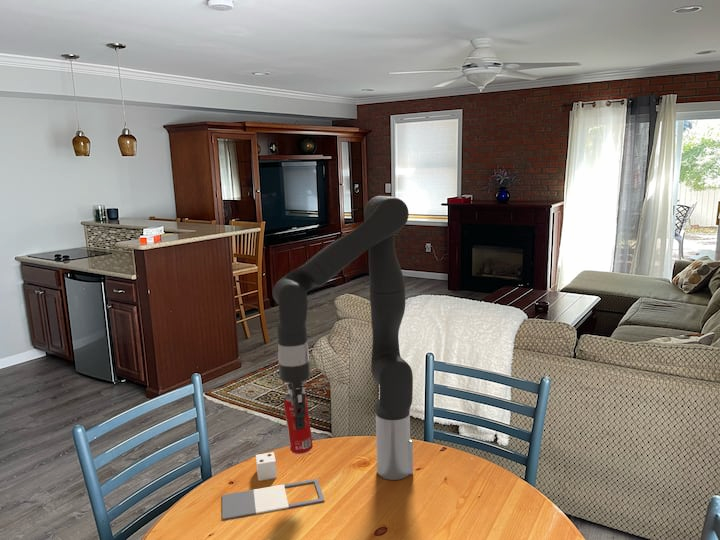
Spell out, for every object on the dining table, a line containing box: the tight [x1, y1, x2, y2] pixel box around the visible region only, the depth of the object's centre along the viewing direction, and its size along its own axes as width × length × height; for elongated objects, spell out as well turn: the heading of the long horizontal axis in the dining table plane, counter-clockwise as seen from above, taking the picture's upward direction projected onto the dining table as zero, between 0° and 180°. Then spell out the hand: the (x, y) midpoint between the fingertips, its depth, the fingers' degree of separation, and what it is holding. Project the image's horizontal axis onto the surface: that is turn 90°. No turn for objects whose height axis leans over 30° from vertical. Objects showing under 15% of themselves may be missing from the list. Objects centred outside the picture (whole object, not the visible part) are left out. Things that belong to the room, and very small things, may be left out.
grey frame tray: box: [221, 478, 325, 521], centre depth 136 cm, size 25×10×1 cm, turn 105°
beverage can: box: [283, 393, 313, 456], centre depth 134 cm, size 6×6×15 cm
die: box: [255, 451, 277, 482], centre depth 147 cm, size 5×5×5 cm
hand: (298, 422), depth 134 cm, fingers closed on beverage can, 5 cm apart
